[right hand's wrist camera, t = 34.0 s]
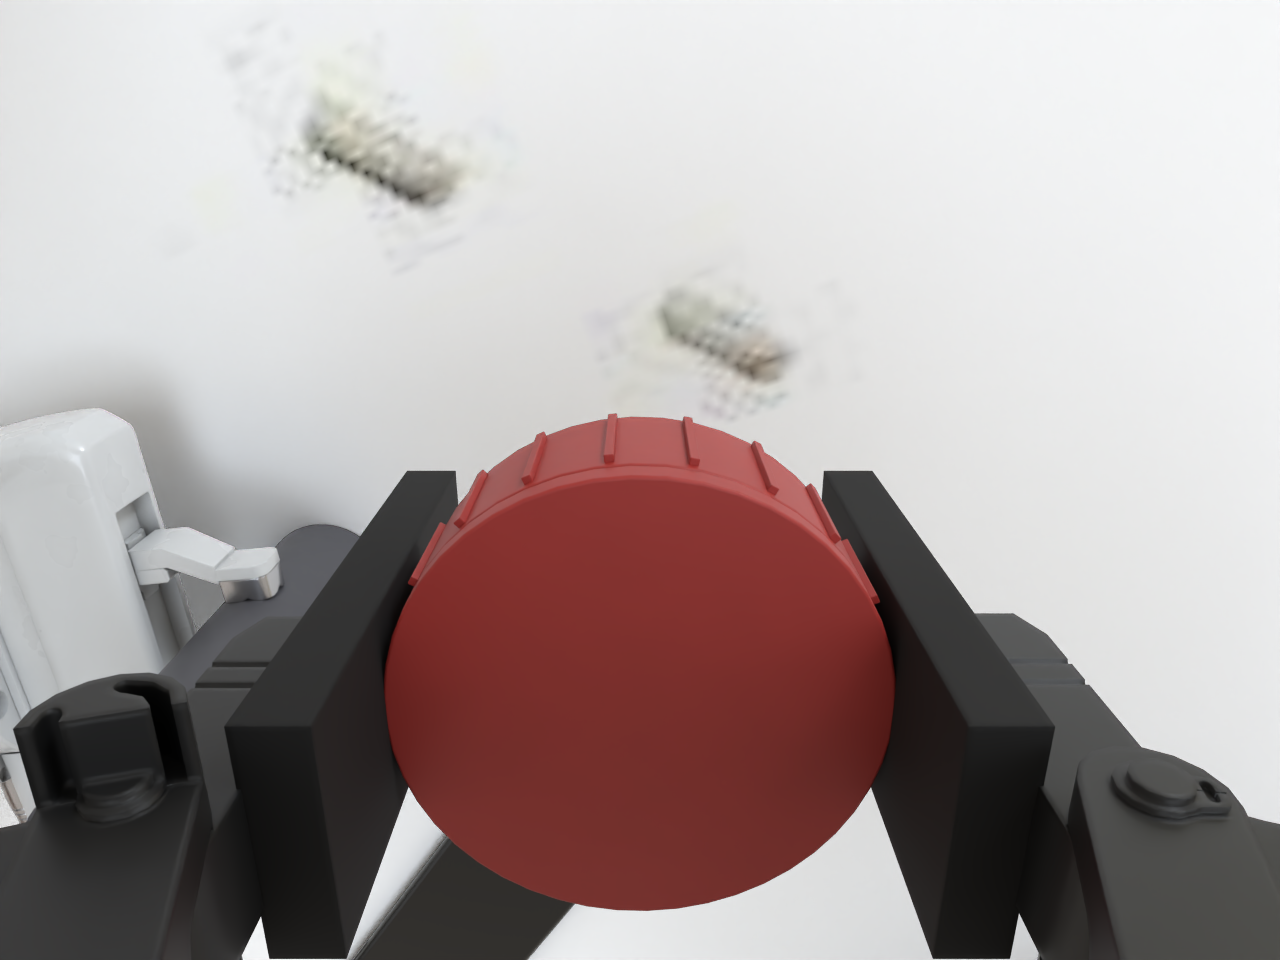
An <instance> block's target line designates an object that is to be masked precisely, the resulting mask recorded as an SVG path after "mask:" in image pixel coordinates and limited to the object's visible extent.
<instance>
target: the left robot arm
mask: <svg viewBox="0 0 1280 960" xmlns="http://www.w3.org/2000/svg"><path fill="white" fill-rule="evenodd" d="M179 572H181V573H184V574H187V575H190V576H193V577H196V578H199V579H202V580H205V581H208V582H211V583H214V584H217V585H220V587H221V590H222V593H223V596H224V599H225V602H226V604H229V603H239V602H244V601H245V600H246V599H247V598H248V599H250V600H253V601H262V600H266V599H269V598H271V597H273V596H275V595H276V593H277V592H278V589H279V587H282V586H283V585H284V584H285V580H284V576H283V572H282V568H281V564H280V559H279V555H278V552H277V549H276V548H275V547H264V548H252V549H240V550H235V547H234V546H231V545H229V544H227V543H224V542H222V541H220V540H217V539H215V538H213V537H210V536H208V535H206V534H203V533H201V532H199V531H196V530H194V529H192V528H189V527H179V528H168V529H165V527H164V524H163V521H162V517H161V514H160V511H159V508H158V504H157V501H156V498H155V495H154V491H153V488H152V485H151V482H150V478H149V475H148V472H147V469H146V466H145V462H144V459H143V456H142V453H141V449H140V446H139V442H138V439H137V435H136V433H135V430H134V428H133V427H132V425H131V424H130V423H128V422H127V421H125V420H123V419H121V418H120V417H118V416H116V415H114V414H112V413H110V412H108V411H106V410H104V409H101V408H89V409H80V410H73V411H66V412H60V413H55V414H50V415H45V416H40V417H36V418H31V419H28V420H24V421H20V422H16V423H13V424H10V425H7V426H4V427H0V786H1V788H2V791H3V793H4V795H5V798H6V800H7V802H8V804H9V806H10V808H11V809H12V811H13V812H14V813H15V815H16V817H17V819H18V821H19V822H20V823H19V824H21V823H24V822H26V821H27V819H28V817H29V815H30V814H31V812H32V811H33V809H34V808H35V807H36V806H35V802H34V799H33V796H32V792H31V789H30V786H29V782H28V779H27V775H26V772H25V769H24V765H23V762H22V758H21V755H20V752H19V748H18V745H17V742H16V738H15V735H14V731H13V728H14V727H15V726H16V725H17V724H18V723H19V722H20V721H21V719H22V718H23V717H24V716H25V715H26V714H27V713H28V712H29V711H30V710H31V709H33V708H35V707H36V706H38V705H39V704H41V703H43V702H44V701H46V700H47V699H49V698H51V697H52V696H54V695H55V694H58V693H60V692H63V691H65V690H68V689H70V688H72V687H75V686H77V685H80V684H82V683H85V682H87V681H92V680H96V679H100V678H105V677H109V676H113V675H118V674H129V673H149V672H150V673H155V674H159V673H160V672H161V671H162V669H163V668H164V667H165V666H166V665H167V664H168V663H169V662H170V661H171V660H172V659H173V658H174V656H175V655H176V654H177V653H178V652H179V651H180V650H181V649H182V648H183V647H184V646H185V645H186V643H187V642H188V641H189V640H190V639H191V638H192V637H193V636H194V635H195V634H196V633H197V631H196V627H195V624H194V621H193V618H192V615H191V611H190V608H189V605H188V602H187V598H186V595H185V592H184V589H183V585H182V582H181V579H180V576H179Z"/></svg>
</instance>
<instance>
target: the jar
mask: <svg viewBox="0 0 1280 960" xmlns="http://www.w3.org/2000/svg"><path fill="white" fill-rule="evenodd" d="M358 539H359V536H357V535H356V534H354V533H352V532H350V531H348V530H346V529H343V528H340V527H336V526H331V525H311V526H306V527H302V528H300V529H297V530H295V531H293V532H292V533H290V534H288V535H287V536H286V537H285V538H284V539H283V540H282V541H281V542H280V543H279V544H278V545H277V546H276V547H275V548H276V549H277V552H278V555H279V559H280V564H281V568H282V572H283V576H284V580H285V584H284V585H283V586H282V587H279V589H278V592H277V593H276V595H275V596H273V597H271V598H269V599H266V600H262V601H253V600H250V599H248V598H247V599H246V600H245V601H244V602H239V603H229V604H226V602H224V603H223V604H222V606H221V607H220V608H219V609H218V610H217V611H216V612H215V613H214V614H213V615H212V616H211V617H210V619H209V620H208V621H207V622H206V623H205V624H204V625H203V626H202V627H201V628H200V629H199V630H198V632H197V633H196V634H195V635H194V636H193V637H192V638H191V639H190V640H189V641H188V642H187V643H186V645H185V646H184V647H183V648H182V649H181V650H180V651H179V652H178V653H177V654H176V655H175V656H174V658H173V659H172V660H171V661H170V662H169V663H168V664H167V665H166V666H165V667H164V668H163V669H162V671H161V672H160V673H159V674H160V675H165V676H170V677H173V678H174V679H175V680H177V681H178V682H179V683H181V684H182V685H183V686H184V687H185V688H186V692H188V691H189V690H190V689H191V688H195V683H196V681H197V680H198V679H199V678H200V677H201V675H202V674H203V673H204V672H205V670H206V669H207V668H208V667H212V662H213V661H214V660H215V658H216V657H217V656H218V655H219V654H220V652H221V651H222V650H223V649H224V648H225V646H226V645H227V644H228V643H229V642H230V640H231V639H232V638H233V637H235V636H236V635H238V634H239V633H241V632H243V631H244V630H246V629H247V628H249V627H251V626H252V625H254V624H255V623H257V622H259V621H260V620H262V619H263V618H265V617H267V616H304V614H305V613H306V611H307V610H308V609H309V607H310V606H311V604H312V603H313V602H314V600H315V599H316V597H317V596H318V595H319V593H320V592H321V590H322V589H323V588H324V586H325V585H326V583H327V582H328V581H329V579H330V578H331V577H332V575H333V574H334V572H335V571H336V570H337V568H338V567H339V565H340V564H341V563H342V561H343V560H344V558H345V557H346V556H347V554H348V553H349V551H350V550H351V549H352V547H353V546H354V544H355V543H356V542H357V540H358ZM35 811H36V807H35V808H34V809H33V811H32V812H31V814H30V815H29V817H28V819H27V821H26V822H28V821H31V819H32V817H33V815H34V813H35Z"/></svg>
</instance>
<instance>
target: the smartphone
mask: <svg viewBox="0 0 1280 960" xmlns="http://www.w3.org/2000/svg"><path fill="white" fill-rule="evenodd" d="M574 904H575V903H571V902H566V901H562V900H558V899H555V898H552V897H549V896H546V895H543V894H540V893H537V892H535V891H532V890H529V889H527V888H525V887H523V886H520V885H518V884H516V883H514V882H512V881H510V880H508V879H505V878H503V877H502V876H500V875H498V874H497V873H495V872H493V871H492V870H490V869H488V868H487V867H485V866H484V865H482V864H480V863H479V862H477V861H476V860H475V859H473V858H472V857H471V856H469V855H468V854H467V853H466V852H464V851H463V850H462V849H461V848H459V847H458V846H457V845H455V844H454V843H453V842H452V841H451V840H450V839H449V838H448V837H446V838H445V839H444V840H443V842H442V843H441V844H440V846H439V847H438V848H437V850H436V851H435V852H434V854H433V855H432V856H431V858H430V859H429V860H428V862H427V863H426V864H425V866H424V867H423V868H422V869H421V871H420V872H419V873H418V875H417V876H416V877H415V879H414V880H413V881H412V883H411V884H410V885H409V887H408V888H407V889H406V891H405V892H404V893H403V894H402V896H401V897H400V898H399V900H398V901H397V902H396V904H395V905H394V906H393V908H392V909H391V910H390V912H389V913H388V914H387V916H386V917H385V918H384V920H383V921H382V922H381V923H380V925H379V926H378V927H377V929H376V930H375V931H374V933H373V934H372V935H371V937H370V938H369V939H368V940H367V941H366V942H365V944H364V945H363V946H362V948H361V949H360V950H359V952H358V953H357V954H356V955H355V957H354V958H353V960H528V959H529V957H530V956H531V955H532V954H533V953H534V952H535V950H536V949H537V948H538V947H539V946H540V944H541V943H542V942H543V941H544V940H545V939H546V937H547V936H548V935H549V934H550V933H551V931H552V930H553V929H554V928H555V927H556V926H557V924H558V923H559V922H560V921H561V920H562V918H563V917H564V916H565V915H566V914H567V913H568V911H569V910H570V909H571V908H572V907H573V905H574Z"/></svg>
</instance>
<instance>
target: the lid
mask: <svg viewBox="0 0 1280 960" xmlns="http://www.w3.org/2000/svg"><path fill="white" fill-rule="evenodd" d="M408 584H410V585H412V586H414V588H413V590H412V592H411V594H410V596H409V597H408V599H407V601H406V603H405V605H404V607H403V609H402V612H401V614H400V617H399V619H398V622H397V624H396V627H395V629H394V632H393V634H392V638H391V642H390V646H389V650H388V655H387V659H386V663H385V675H384V695H385V704H386V713H387V722H388V729H389V737H390V742H391V747H392V751H393V753H394V756H395V758H396V761H397V763H398V766H399V768H400V771H401V773H402V776H403V778H404V779H405V781H406V783H407V784H408V786H409V788H410V790H411V791H412V793H413V795H414V797H415V798H416V800H417V802H418V803H419V804H420V806H421V807H422V808H423V809H424V811H425V812H426V813H427V815H428V816H429V817H430V819H431V820H432V821H433V822H434V824H435V825H436V826H437V827H438V828H439V829H440V830H441V831H442V832H443V833H444V834H445V835H446V836H447V837H448V838H449V839H450V840H451V841H452V842H453V843H454V844H455V845H457V846H458V847H459V848H461V849H462V850H463V851H464V852H466V853H467V854H468V855H469V856H471V857H472V858H473V859H475V860H476V861H477V862H479V863H480V864H482V865H484V866H485V867H487V868H488V869H490V870H492V871H493V872H495V873H497V874H498V875H500V876H502V877H503V878H505V879H508V880H510V881H512V882H514V883H516V884H518V885H520V886H523V887H525V888H527V889H529V890H532V891H535V892H537V893H540V894H543V895H546V896H549V897H552V898H555V899H558V900H562V901H566V902H571V903H575V904H580V905H584V906H589V907H597V908H605V909H613V910H636V911H651V910H664V909H677V908H683V907H689V906H694V905H700V904H705V903H710V902H713V901H717V900H720V899H724V898H727V897H730V896H734V895H737V894H740V893H742V892H744V891H747V890H749V889H752V888H754V887H757V886H759V885H762V884H764V883H766V882H768V881H770V880H772V879H773V878H775V877H777V876H779V875H781V874H783V873H784V872H786V871H788V870H790V869H791V868H793V867H794V866H796V865H797V864H799V863H800V862H802V861H803V860H804V859H806V858H807V857H809V856H810V855H812V854H813V853H814V852H815V851H817V850H818V849H819V848H820V847H821V846H822V845H823V844H824V843H826V842H827V841H828V840H829V839H830V838H831V837H832V836H833V835H835V834H836V833H837V831H838V830H839V829H840V828H841V827H842V826H843V825H844V823H845V822H846V821H847V820H848V819H849V818H850V817H851V815H852V814H853V813H854V812H855V810H856V809H857V807H858V806H859V804H860V803H861V801H862V800H863V798H864V797H865V795H866V794H867V792H868V791H869V789H870V788H871V786H872V783H873V781H874V779H875V777H876V775H877V773H878V771H879V769H880V767H881V765H882V763H883V759H884V756H885V753H886V750H887V747H888V744H889V740H890V732H891V724H892V716H893V708H894V698H895V683H896V677H895V671H894V664H893V658H892V651H891V647H890V644H889V641H888V638H887V635H886V632H885V628H884V625H883V622H882V620H881V618H880V616H879V614H878V612H877V610H876V608H875V606H874V604H877V603H879V602H880V601H879V598H878V596H877V594H876V592H875V590H874V588H873V586H872V584H871V582H870V581H869V579H868V577H867V575H866V573H865V571H864V569H863V567H862V565H861V564H860V562H859V560H858V558H857V556H856V554H855V552H854V550H853V549H852V547H851V545H850V543H849V541H848V539H845V540H843V541H841V537H840V535H839V533H838V531H837V529H836V527H835V525H834V523H833V522H832V520H831V518H830V516H829V514H828V512H827V510H826V508H825V506H824V504H823V502H822V500H821V498H820V496H819V494H818V492H817V491H816V489H815V487H814V486H813V485H812V484H811V483H810V484H809V485H808V486H806V487H805V486H804V484H803V483H802V482H801V481H800V480H799V479H798V478H797V477H796V476H795V475H794V474H793V473H791V472H790V471H789V470H788V469H786V468H785V467H784V466H783V465H781V464H780V463H779V462H778V461H776V460H775V459H774V458H773V457H771V456H769V455H768V454H766V453H764V450H763V448H762V445H761V444H760V443H758V442H756V441H753V443H752V445H751V444H749V443H748V442H745V441H743V440H741V439H738V438H736V437H734V436H732V435H729V434H727V433H725V432H722V431H720V430H716V429H713V428H709V427H706V426H702V425H699V424H696V423H693V420H692V418H690V417H684V418H683V421H679V420H673V419H667V418H652V417H625V418H617V414H609V415H608V419H604V420H598V421H594V422H589V423H585V424H581V425H576V426H572V427H569V428H566V429H564V430H561V431H558V432H555V433H553V434H550V435H547V436H546V434H545V432H542V433H540V434H537V435H536V438H535V441H534V442H533V443H531V444H529V445H527V446H525V447H523V448H521V449H519V450H517V451H516V452H515V453H513V454H512V455H510V456H509V457H508V458H506V459H505V460H503V461H502V462H500V463H499V464H498V465H496V466H495V467H494V468H493V469H491V470H490V471H489V472H488V473H486V472H485V471H484V470H482V471H481V472H480V473H478V474H477V476H476V479H475V481H474V483H473V485H472V487H471V489H470V491H469V493H468V494H467V495H466V496H465V498H464V499H463V500H462V501H461V502H460V504H459V505H458V506H457V507H456V509H455V511H454V513H453V514H452V516H451V518H450V519H449V521H448V523H447V524H446V525H445V524H443V523H441V522H440V523H439V525H438V527H437V529H436V531H435V533H434V535H433V537H432V538H431V540H430V542H429V544H428V546H427V548H426V550H425V552H424V553H423V555H422V557H421V559H420V561H419V563H418V565H417V567H416V568H415V570H414V572H413V574H412V576H411V578H410V580H409V582H408Z"/></svg>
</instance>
